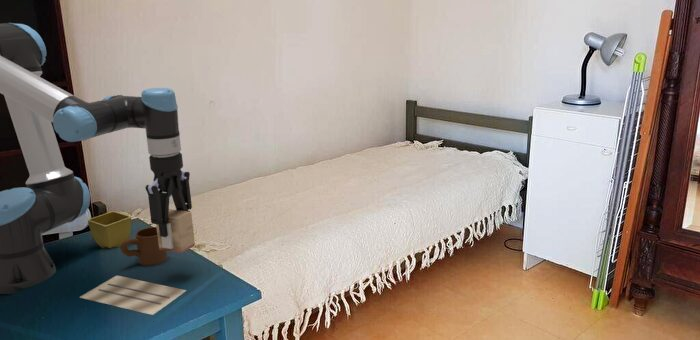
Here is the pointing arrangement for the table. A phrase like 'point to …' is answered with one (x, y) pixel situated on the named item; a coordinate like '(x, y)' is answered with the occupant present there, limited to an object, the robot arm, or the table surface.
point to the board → (133, 294)
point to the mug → (145, 247)
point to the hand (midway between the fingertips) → (175, 242)
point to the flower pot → (110, 229)
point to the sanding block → (179, 231)
